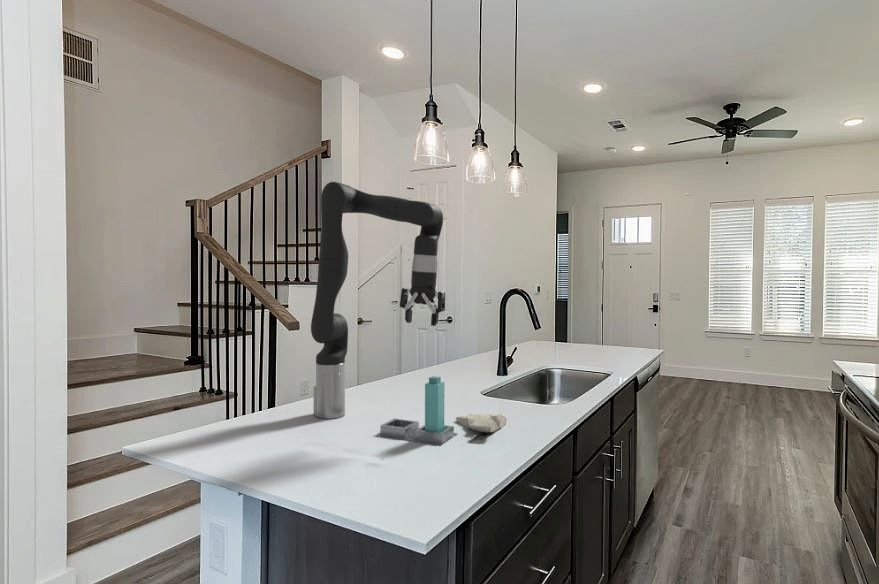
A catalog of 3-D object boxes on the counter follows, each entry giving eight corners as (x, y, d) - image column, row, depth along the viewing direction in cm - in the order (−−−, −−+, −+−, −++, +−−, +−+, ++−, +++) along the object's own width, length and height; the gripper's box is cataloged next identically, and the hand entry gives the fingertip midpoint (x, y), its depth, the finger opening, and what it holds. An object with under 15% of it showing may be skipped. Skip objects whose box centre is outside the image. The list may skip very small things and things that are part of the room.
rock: (441, 436, 150) (489, 438, 144) (440, 420, 151) (489, 421, 144) (470, 423, 169) (514, 424, 163) (469, 408, 170) (513, 409, 163)
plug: (424, 438, 143) (425, 377, 143) (431, 434, 147) (431, 375, 146) (437, 440, 141) (438, 379, 141) (444, 436, 145) (444, 376, 144)
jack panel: (375, 440, 145) (375, 427, 145) (396, 428, 156) (396, 416, 156) (440, 450, 137) (440, 436, 137) (458, 437, 148) (458, 424, 148)
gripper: (451, 272, 156) (447, 325, 157) (410, 268, 163) (406, 320, 164) (440, 272, 150) (436, 328, 151) (397, 268, 156) (394, 322, 157)
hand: (420, 324), depth 157 cm, fingers open, 8 cm apart
